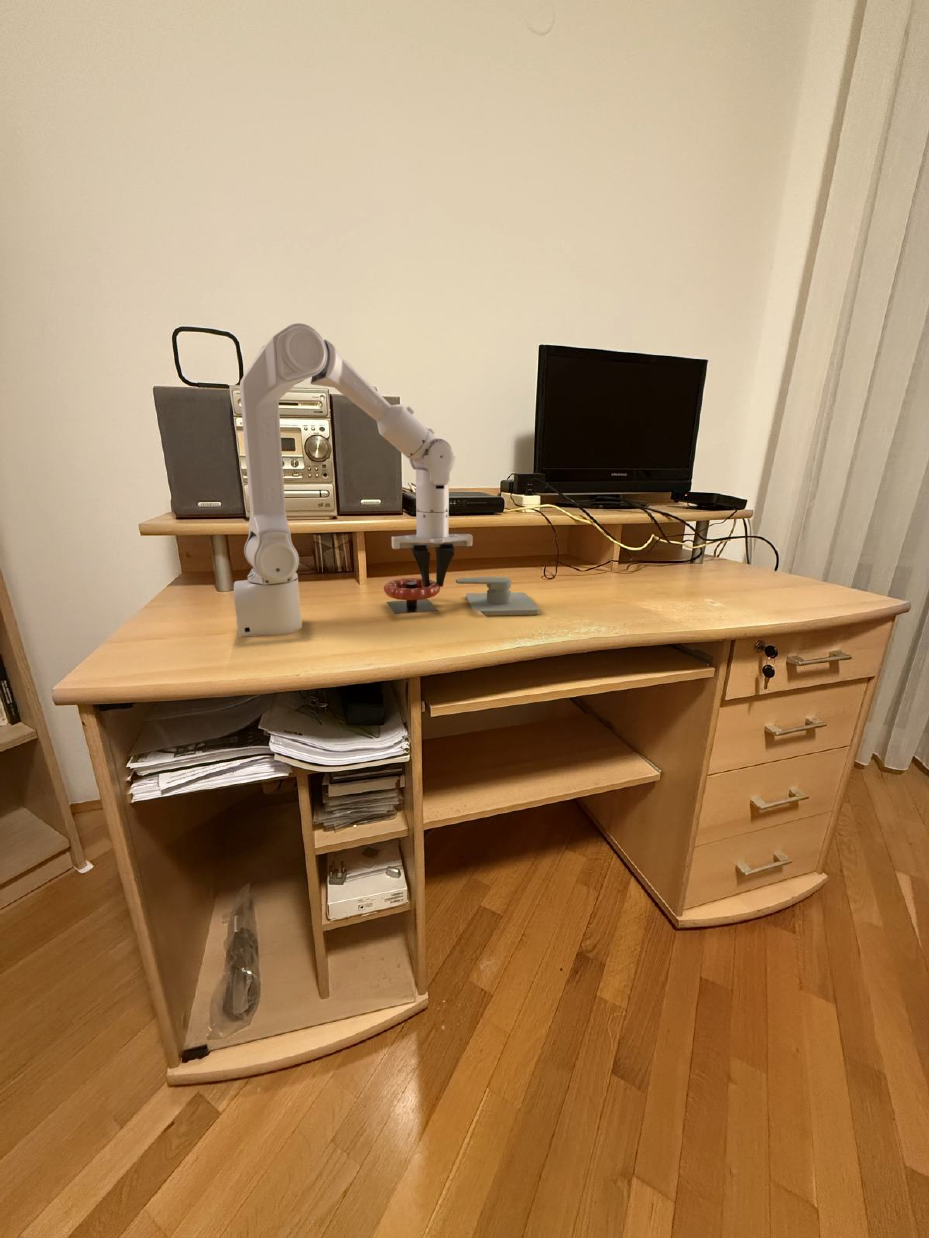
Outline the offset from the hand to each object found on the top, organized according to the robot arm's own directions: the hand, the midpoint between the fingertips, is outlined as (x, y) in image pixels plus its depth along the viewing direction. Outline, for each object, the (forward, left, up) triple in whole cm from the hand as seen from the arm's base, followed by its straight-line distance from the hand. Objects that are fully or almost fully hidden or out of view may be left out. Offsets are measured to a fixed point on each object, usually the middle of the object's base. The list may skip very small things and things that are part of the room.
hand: (432, 585), depth 90 cm
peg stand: (-4, 0, -4) cm, 6 cm away
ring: (-4, 0, 0) cm, 4 cm away
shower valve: (+12, -1, -5) cm, 13 cm away
